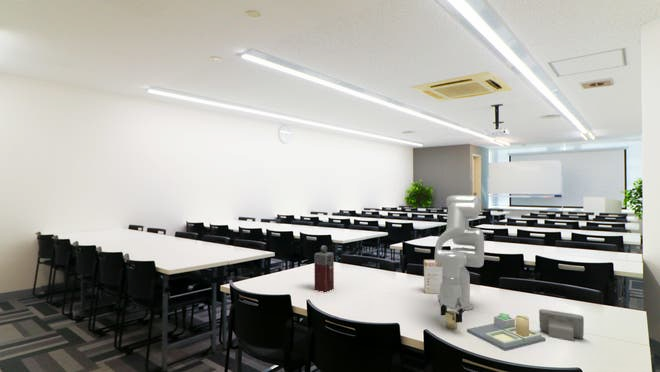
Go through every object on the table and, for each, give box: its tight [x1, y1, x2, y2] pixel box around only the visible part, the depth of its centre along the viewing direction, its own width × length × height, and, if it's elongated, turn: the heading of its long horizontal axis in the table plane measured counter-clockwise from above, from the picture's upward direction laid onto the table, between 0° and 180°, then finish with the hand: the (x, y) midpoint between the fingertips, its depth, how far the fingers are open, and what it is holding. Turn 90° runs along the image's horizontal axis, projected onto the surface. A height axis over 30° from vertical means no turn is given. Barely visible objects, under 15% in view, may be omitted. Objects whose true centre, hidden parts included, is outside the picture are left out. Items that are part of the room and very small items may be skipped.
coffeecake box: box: [423, 259, 442, 295], centre depth 215 cm, size 15×7×20 cm, turn 84°
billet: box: [445, 310, 458, 331], centre depth 160 cm, size 5×5×7 cm
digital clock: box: [538, 308, 585, 342], centre depth 151 cm, size 16×9×11 cm, turn 45°
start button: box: [498, 313, 510, 320], centre depth 158 cm, size 4×4×4 cm
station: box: [466, 315, 546, 351], centre depth 151 cm, size 20×23×8 cm
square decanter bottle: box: [313, 245, 335, 293], centre depth 221 cm, size 9×11×28 cm
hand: (451, 318), depth 159 cm, fingers open, 9 cm apart
